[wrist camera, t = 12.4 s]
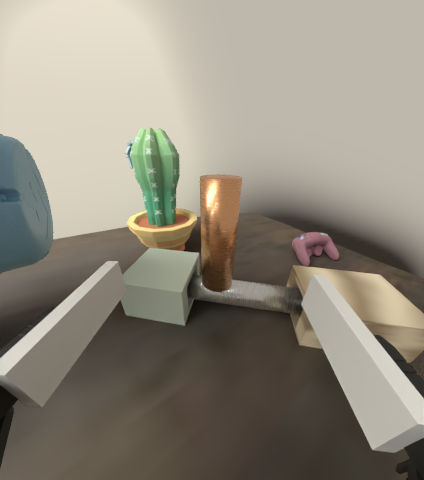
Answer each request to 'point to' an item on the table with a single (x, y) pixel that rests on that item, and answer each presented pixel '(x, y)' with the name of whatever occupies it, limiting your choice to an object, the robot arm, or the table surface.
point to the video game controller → (314, 246)
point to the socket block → (160, 285)
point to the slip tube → (231, 254)
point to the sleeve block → (365, 308)
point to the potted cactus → (158, 192)
